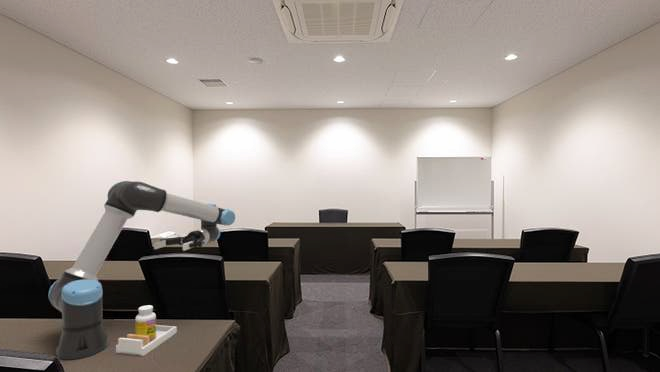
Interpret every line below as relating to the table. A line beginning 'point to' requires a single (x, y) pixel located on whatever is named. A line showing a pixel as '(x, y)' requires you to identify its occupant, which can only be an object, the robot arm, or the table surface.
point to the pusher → (140, 337)
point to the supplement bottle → (146, 322)
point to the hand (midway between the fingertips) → (168, 246)
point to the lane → (137, 345)
